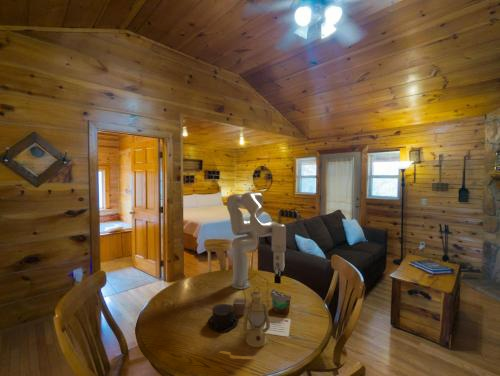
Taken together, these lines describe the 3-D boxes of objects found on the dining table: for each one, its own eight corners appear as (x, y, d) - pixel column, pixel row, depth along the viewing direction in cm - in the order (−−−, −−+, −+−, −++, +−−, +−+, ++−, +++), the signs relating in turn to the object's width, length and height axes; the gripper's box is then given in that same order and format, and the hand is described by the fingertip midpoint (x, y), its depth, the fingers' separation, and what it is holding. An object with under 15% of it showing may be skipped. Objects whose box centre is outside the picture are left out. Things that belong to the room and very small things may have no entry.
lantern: (244, 349, 102) (244, 278, 101) (241, 335, 112) (241, 270, 111) (272, 347, 104) (272, 277, 103) (267, 332, 113) (267, 268, 112)
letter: (267, 316, 127) (267, 316, 127) (290, 319, 124) (290, 319, 124) (262, 333, 113) (262, 332, 113) (288, 337, 110) (288, 336, 110)
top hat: (203, 330, 115) (203, 309, 115) (212, 313, 130) (212, 294, 130) (235, 333, 113) (235, 311, 113) (240, 315, 128) (240, 296, 128)
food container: (265, 309, 133) (265, 291, 133) (272, 305, 138) (272, 288, 137) (284, 318, 125) (284, 299, 125) (291, 313, 129) (291, 295, 129)
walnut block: (234, 308, 135) (235, 298, 134) (245, 309, 134) (245, 298, 134) (233, 314, 129) (233, 303, 128) (244, 315, 128) (244, 304, 128)
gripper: (284, 252, 121) (284, 287, 121) (287, 243, 138) (287, 274, 138) (269, 251, 123) (269, 285, 123) (273, 243, 139) (273, 273, 140)
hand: (278, 279), depth 131 cm, fingers open, 9 cm apart
